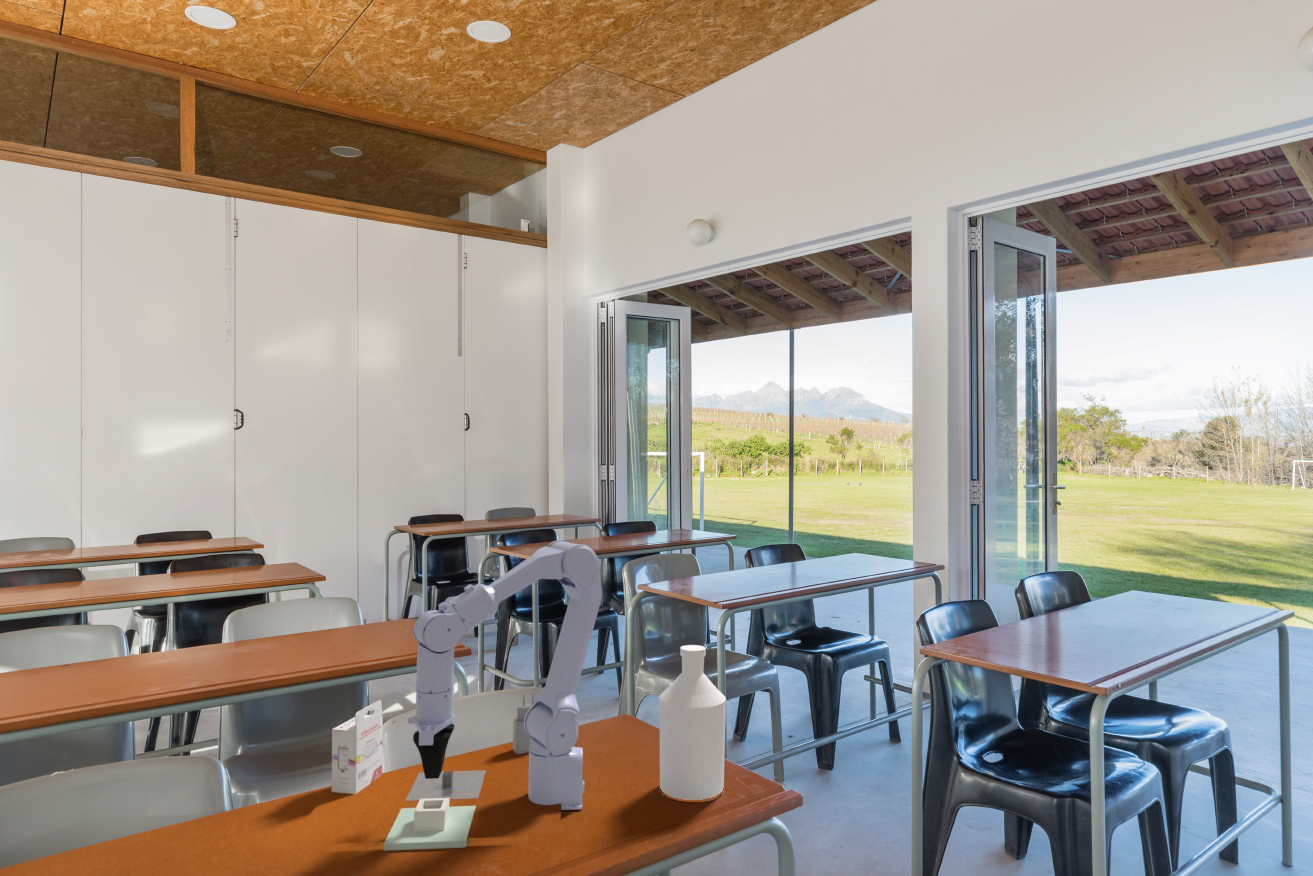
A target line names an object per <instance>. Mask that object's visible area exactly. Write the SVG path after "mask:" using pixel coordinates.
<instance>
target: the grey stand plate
mask: <svg viewBox="0 0 1313 876" xmlns="http://www.w3.org/2000/svg"><path fill="white" fill-rule="evenodd" d="M486 773H487V770H481V769H480V770H457V771H456V770H450V771H448V770H447V771H446V770H445V771H441V774H440V776H439V778H436V779H426V778H425V775H424V771H421V772H419V773H418V774H417V776H416V778H415V780H414V782H413V784H412V786H411V788H410V790H409V791H408V794H407V796H406V798H405V802H406V801H407V802H410V801H411V802H412V801H419V800H420V799H427V798H450V800H463V799H464V800H465V799H466V800H469V799H472V800H473V799H479V797H480V794H481V789H482V787H483V782H484V779H485V775H486Z"/></svg>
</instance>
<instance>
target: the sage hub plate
mask: <svg viewBox="0 0 1313 876" xmlns="http://www.w3.org/2000/svg"><path fill="white" fill-rule="evenodd" d="M476 807H477V805H461V806H455V805H454V806H449V819H448V822H447V824H446V827H445V830H437V831H414V811H415V809H416V807H405V808H404V807H401V808H400V810H399V813H398V814H397V817H396V818H395V821H394V822H393V825H392V826H391V828H390V830H389V833H388V835H387V836H386V838H385V840H384V843H383V851H384V852H385V851H405V850H406V851H410V850H431V849H432V850H435V849H455V848H456V849H457V848H459V849H460V848H467V845H468V841H469V837H468V836H469V832H470V828H471V824H472V823H473V818H474V814H475V811H476Z"/></svg>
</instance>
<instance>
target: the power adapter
mask: <svg viewBox="0 0 1313 876" xmlns="http://www.w3.org/2000/svg"><path fill="white" fill-rule="evenodd" d="M522 697H523V698H522V704H520V705H519V706H517V709H516V710H517V713H516V714H517V716H516V717H513V723H512V725H513V727H512V729H513V730H512V731H513V732H512V751H513V752H514V753H515V754H516V755H524V754H529V745H530V736H528V734H527V733H526V732H525V729H524V718H525V715H526V713H527V711H528V710H529V709H530V708H531V706H532V705H533V703H534V700H535V698H534V697H535V695H534V692H532V693H531V703H525V701H526V699H525V698H526V697H525V693H524V694H522Z"/></svg>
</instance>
